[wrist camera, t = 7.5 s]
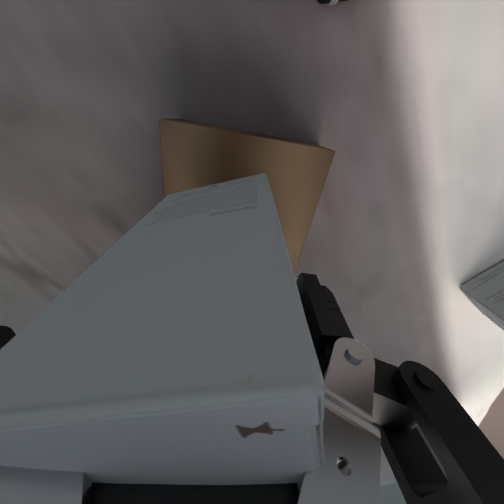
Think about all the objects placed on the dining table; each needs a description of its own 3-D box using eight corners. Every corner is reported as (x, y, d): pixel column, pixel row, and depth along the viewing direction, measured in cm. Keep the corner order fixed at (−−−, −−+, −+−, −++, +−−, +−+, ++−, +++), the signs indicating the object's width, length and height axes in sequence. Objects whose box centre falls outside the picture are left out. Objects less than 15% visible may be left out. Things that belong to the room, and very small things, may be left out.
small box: (167, 192, 12) (-132, 436, 3) (267, 169, 11) (334, 391, 2) (212, 297, 16) (157, 530, 7) (287, 285, 15) (336, 526, 6)
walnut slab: (317, 144, 16) (335, 150, 12) (280, 271, 22) (285, 299, 18) (180, 119, 15) (159, 118, 11) (182, 259, 21) (169, 285, 18)
